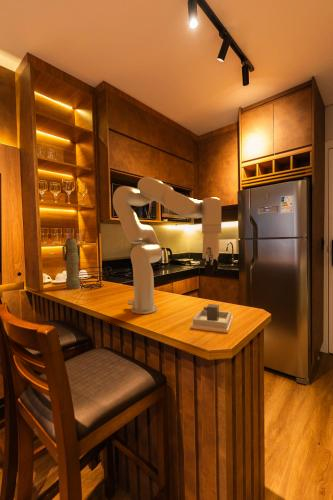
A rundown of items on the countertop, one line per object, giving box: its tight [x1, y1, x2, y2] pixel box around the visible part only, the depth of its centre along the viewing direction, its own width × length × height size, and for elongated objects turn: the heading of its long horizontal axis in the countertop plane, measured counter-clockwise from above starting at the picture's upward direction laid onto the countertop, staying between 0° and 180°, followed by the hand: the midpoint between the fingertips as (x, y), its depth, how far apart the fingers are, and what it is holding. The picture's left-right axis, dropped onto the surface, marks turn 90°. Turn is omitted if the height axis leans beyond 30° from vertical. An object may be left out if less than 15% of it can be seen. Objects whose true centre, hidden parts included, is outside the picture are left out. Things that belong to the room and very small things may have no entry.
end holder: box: [190, 308, 234, 333], centre depth 96 cm, size 14×16×3 cm
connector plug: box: [203, 303, 220, 321], centre depth 96 cm, size 6×4×6 cm
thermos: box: [61, 237, 81, 290], centre depth 167 cm, size 9×12×35 cm
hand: (211, 273), depth 95 cm, fingers open, 9 cm apart
